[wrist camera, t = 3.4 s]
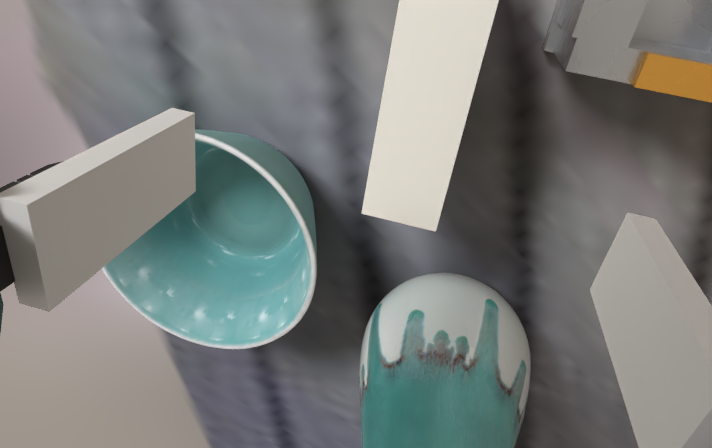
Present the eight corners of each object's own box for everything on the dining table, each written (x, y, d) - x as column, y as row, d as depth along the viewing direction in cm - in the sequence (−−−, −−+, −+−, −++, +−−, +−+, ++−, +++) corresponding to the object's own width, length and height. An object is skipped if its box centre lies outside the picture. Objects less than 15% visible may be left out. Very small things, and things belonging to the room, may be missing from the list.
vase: (352, 328, 42) (276, 544, 27) (417, 224, 36) (366, 428, 21) (473, 390, 42) (467, 640, 27) (558, 298, 36) (611, 553, 21)
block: (389, 153, 34) (361, 213, 26) (428, -44, 28) (406, -41, 20) (447, 167, 34) (435, 231, 26) (499, -31, 27) (505, -23, 20)
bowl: (140, 82, 36) (54, 115, 29) (353, 109, 33) (317, 152, 26) (168, 264, 43) (106, 325, 36) (343, 297, 41) (313, 369, 34)
